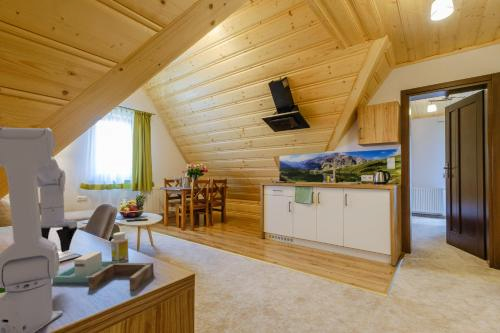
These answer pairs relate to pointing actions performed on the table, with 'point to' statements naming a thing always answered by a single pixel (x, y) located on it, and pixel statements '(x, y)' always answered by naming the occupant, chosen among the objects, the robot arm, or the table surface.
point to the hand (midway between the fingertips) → (54, 251)
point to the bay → (123, 274)
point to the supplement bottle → (119, 247)
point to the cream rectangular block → (88, 264)
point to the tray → (70, 277)
